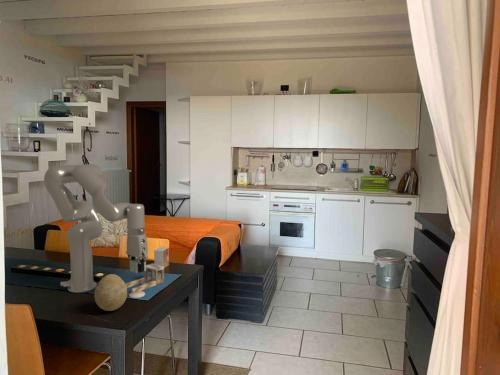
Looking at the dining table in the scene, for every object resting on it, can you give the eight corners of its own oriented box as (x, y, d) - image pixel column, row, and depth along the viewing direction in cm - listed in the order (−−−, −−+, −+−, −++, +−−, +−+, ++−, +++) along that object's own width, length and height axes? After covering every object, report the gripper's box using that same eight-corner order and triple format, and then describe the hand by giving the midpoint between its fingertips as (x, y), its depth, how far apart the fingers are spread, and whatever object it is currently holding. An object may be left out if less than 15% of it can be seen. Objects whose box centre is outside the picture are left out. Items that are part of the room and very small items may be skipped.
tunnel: (132, 293, 167) (132, 276, 167) (121, 288, 173) (121, 272, 172) (164, 282, 182) (163, 266, 181) (152, 278, 187) (152, 263, 187)
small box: (163, 269, 202) (163, 251, 201) (154, 268, 203) (153, 250, 202) (169, 265, 210) (169, 247, 209) (160, 264, 211) (160, 246, 210)
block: (136, 273, 161) (136, 262, 161) (130, 271, 164) (129, 260, 164) (145, 270, 165) (145, 259, 165) (139, 268, 168) (138, 258, 168)
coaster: (130, 299, 161) (130, 297, 161) (127, 293, 167) (127, 292, 167) (146, 296, 164) (146, 295, 164) (143, 291, 170) (143, 290, 170)
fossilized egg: (133, 304, 156) (132, 270, 154) (117, 317, 143) (116, 281, 142) (105, 302, 158) (105, 268, 156) (88, 314, 145) (87, 278, 144)
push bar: (143, 286, 178) (143, 281, 177) (139, 284, 180) (139, 279, 179) (163, 279, 187) (163, 275, 187) (158, 278, 189) (158, 273, 189)
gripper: (155, 232, 161) (155, 272, 162) (131, 227, 171) (132, 265, 172) (141, 235, 155) (142, 276, 156) (117, 230, 165) (118, 269, 166)
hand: (137, 270), depth 164 cm, fingers closed on block, 5 cm apart
